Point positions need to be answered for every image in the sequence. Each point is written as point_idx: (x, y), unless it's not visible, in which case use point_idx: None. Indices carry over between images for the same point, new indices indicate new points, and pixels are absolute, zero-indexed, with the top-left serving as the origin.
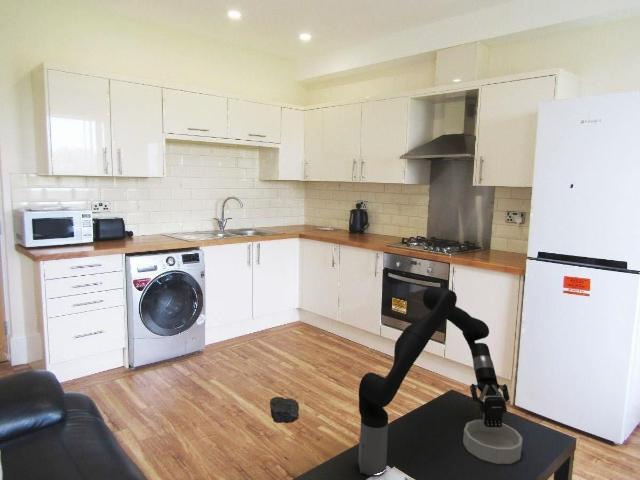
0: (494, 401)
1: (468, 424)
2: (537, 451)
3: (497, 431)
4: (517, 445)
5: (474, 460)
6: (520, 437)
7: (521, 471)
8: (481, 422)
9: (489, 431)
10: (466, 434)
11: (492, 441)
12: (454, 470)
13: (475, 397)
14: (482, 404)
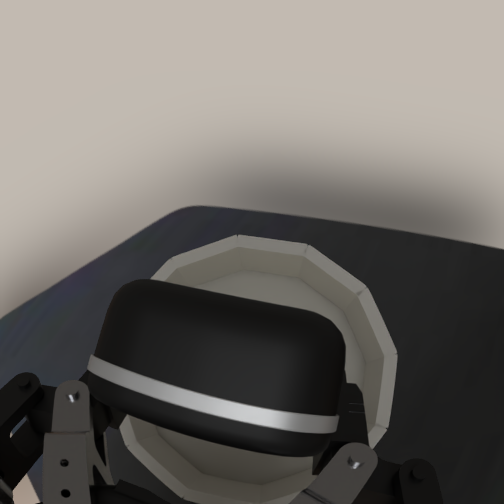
0: (258, 302)
1: None
2: (93, 313)
3: (168, 450)
4: (189, 257)
5: (374, 300)
6: None
7: (232, 222)
8: (236, 496)
9: (198, 472)
10: (391, 390)
11: None
12: (453, 256)
13: (427, 476)
14: (348, 418)
